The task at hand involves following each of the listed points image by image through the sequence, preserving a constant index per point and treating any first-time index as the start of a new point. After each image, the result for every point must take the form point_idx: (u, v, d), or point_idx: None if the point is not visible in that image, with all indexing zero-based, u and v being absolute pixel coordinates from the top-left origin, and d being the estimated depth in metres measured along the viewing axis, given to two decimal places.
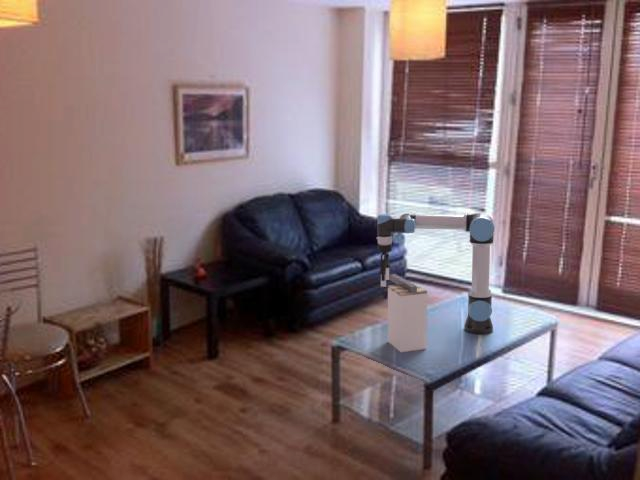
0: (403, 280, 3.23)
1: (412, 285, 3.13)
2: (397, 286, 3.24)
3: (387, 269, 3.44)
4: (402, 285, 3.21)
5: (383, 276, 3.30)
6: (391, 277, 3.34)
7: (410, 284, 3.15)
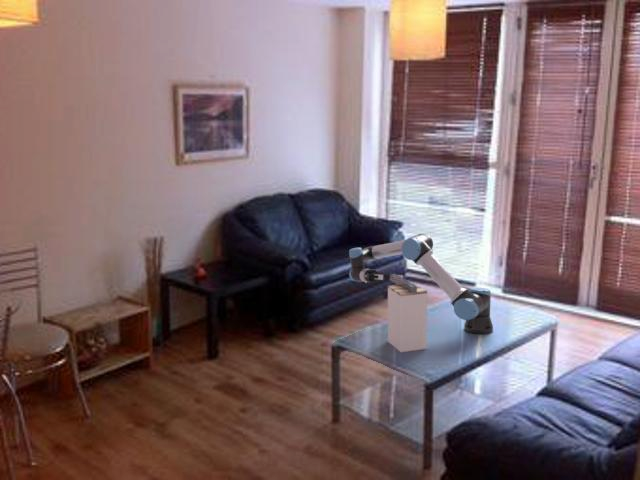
0: (403, 280, 3.23)
1: (412, 285, 3.13)
2: (397, 286, 3.24)
3: None
4: (402, 285, 3.21)
5: (374, 276, 3.44)
6: (391, 277, 3.34)
7: (410, 284, 3.15)
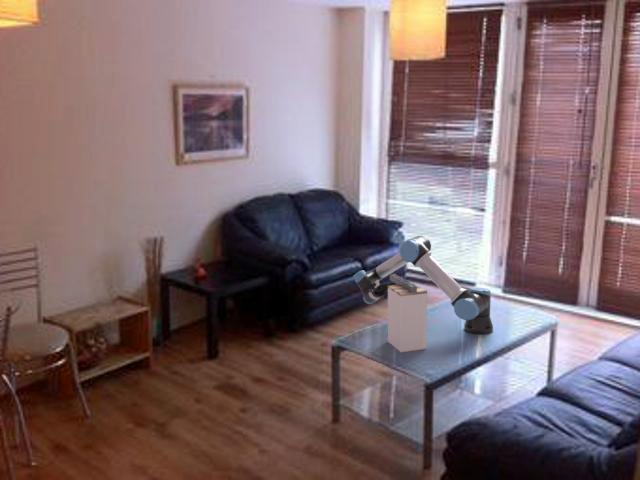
0: (403, 280, 3.23)
1: (412, 285, 3.13)
2: (397, 286, 3.24)
3: None
4: (402, 285, 3.21)
5: (372, 285, 3.41)
6: (391, 277, 3.34)
7: (410, 284, 3.15)
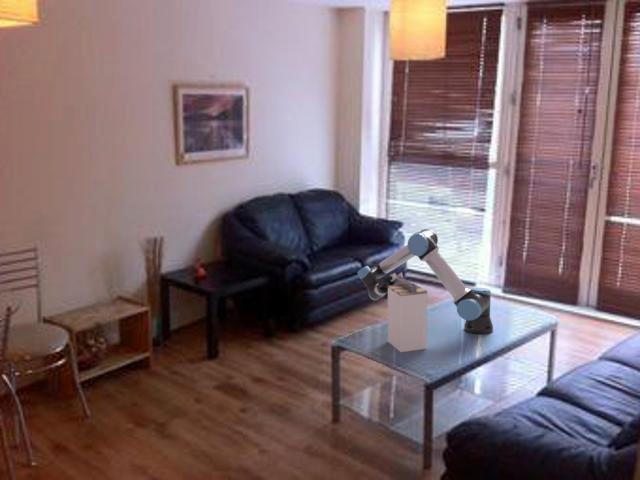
0: (403, 280, 3.23)
1: (412, 285, 3.13)
2: (397, 286, 3.24)
3: None
4: (402, 285, 3.21)
5: (388, 278, 3.33)
6: None
7: (410, 284, 3.15)
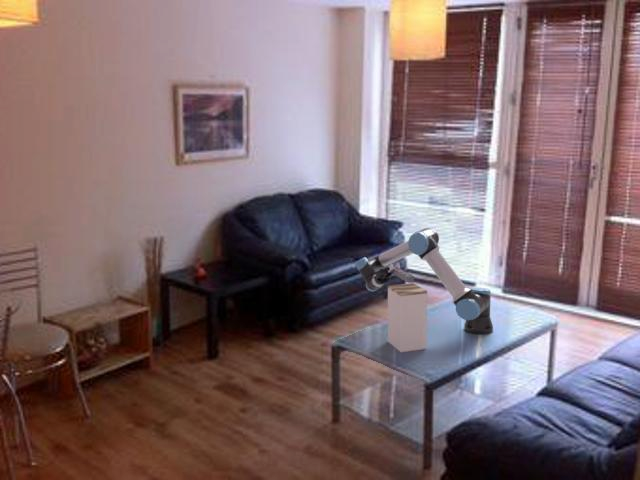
0: (400, 270, 3.25)
1: (409, 275, 3.15)
2: (397, 286, 3.24)
3: None
4: (399, 275, 3.23)
5: (385, 269, 3.34)
6: None
7: (407, 274, 3.17)
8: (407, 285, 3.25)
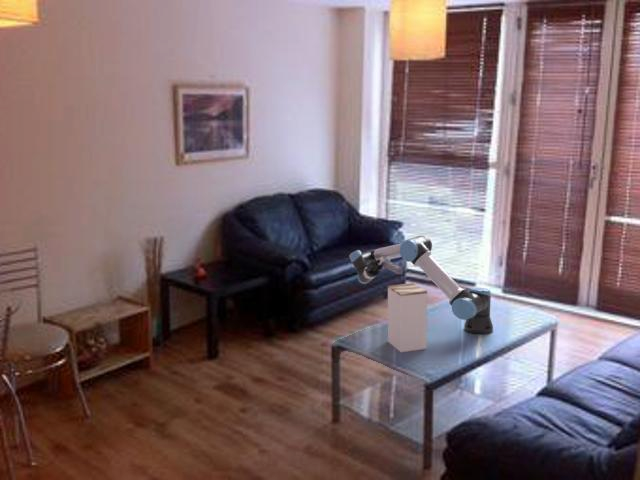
0: (390, 263, 3.36)
1: (398, 267, 3.27)
2: (397, 286, 3.24)
3: None
4: (389, 268, 3.34)
5: (376, 261, 3.46)
6: None
7: (396, 266, 3.29)
8: (407, 285, 3.25)
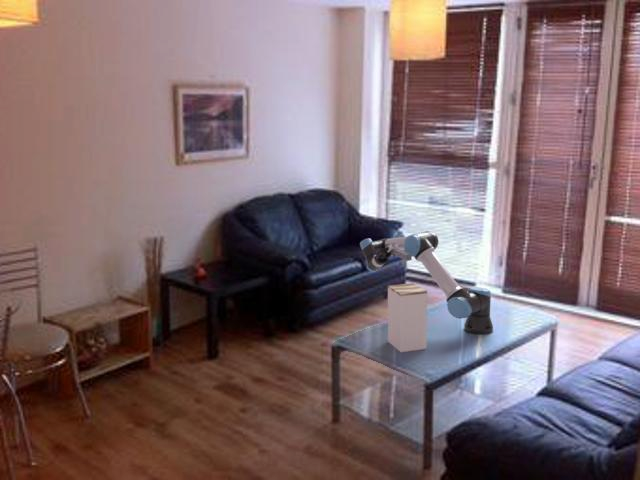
0: (399, 250, 3.44)
1: (407, 254, 3.34)
2: (397, 286, 3.24)
3: None
4: (398, 254, 3.42)
5: (385, 249, 3.53)
6: None
7: (405, 253, 3.36)
8: (407, 285, 3.25)
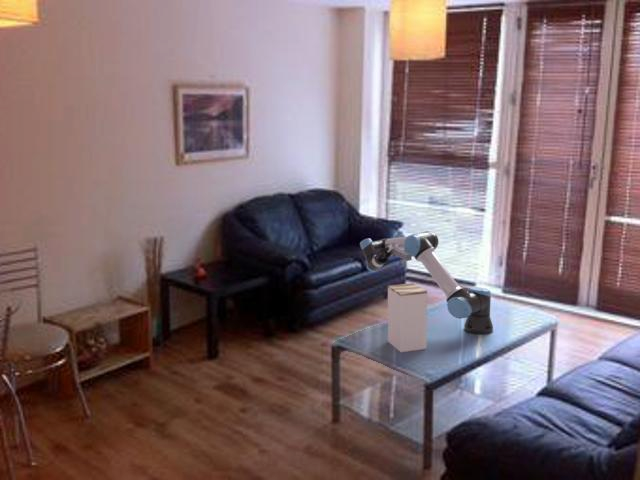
0: (399, 250, 3.44)
1: (407, 254, 3.34)
2: (397, 286, 3.24)
3: None
4: (398, 254, 3.42)
5: (385, 249, 3.53)
6: None
7: (405, 253, 3.36)
8: (407, 285, 3.25)
